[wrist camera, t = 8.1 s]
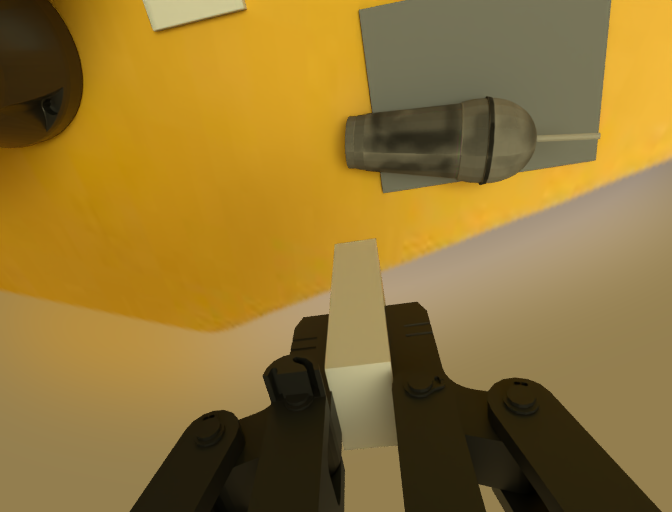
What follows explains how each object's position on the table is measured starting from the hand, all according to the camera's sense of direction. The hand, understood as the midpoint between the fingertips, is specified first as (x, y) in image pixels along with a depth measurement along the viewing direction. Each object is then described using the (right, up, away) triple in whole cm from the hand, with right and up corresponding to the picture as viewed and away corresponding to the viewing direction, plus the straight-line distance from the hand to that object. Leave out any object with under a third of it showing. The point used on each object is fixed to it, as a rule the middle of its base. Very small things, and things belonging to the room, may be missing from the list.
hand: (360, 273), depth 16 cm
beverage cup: (0, +11, +22) cm, 25 cm away
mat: (+12, +16, +22) cm, 30 cm away
